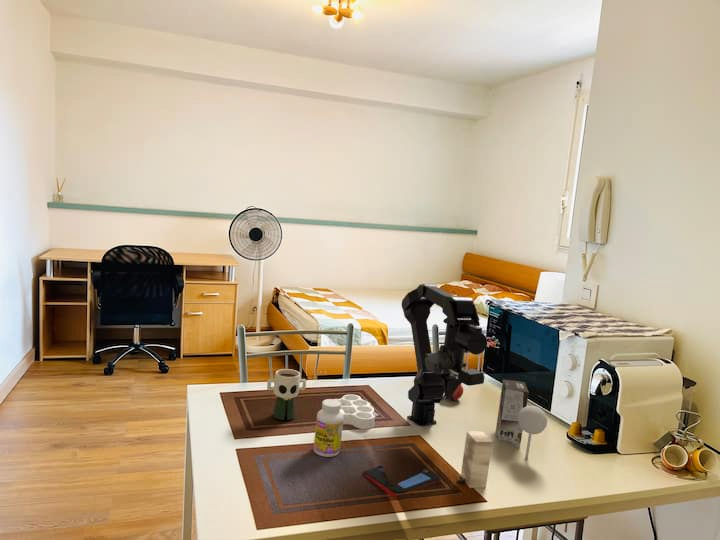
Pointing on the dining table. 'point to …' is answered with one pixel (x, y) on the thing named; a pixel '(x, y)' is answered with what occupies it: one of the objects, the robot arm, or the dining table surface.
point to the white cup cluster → (357, 412)
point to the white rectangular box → (476, 459)
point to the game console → (405, 486)
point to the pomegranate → (457, 393)
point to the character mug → (286, 392)
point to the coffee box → (511, 411)
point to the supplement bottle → (328, 429)
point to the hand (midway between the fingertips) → (447, 398)
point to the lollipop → (532, 422)
